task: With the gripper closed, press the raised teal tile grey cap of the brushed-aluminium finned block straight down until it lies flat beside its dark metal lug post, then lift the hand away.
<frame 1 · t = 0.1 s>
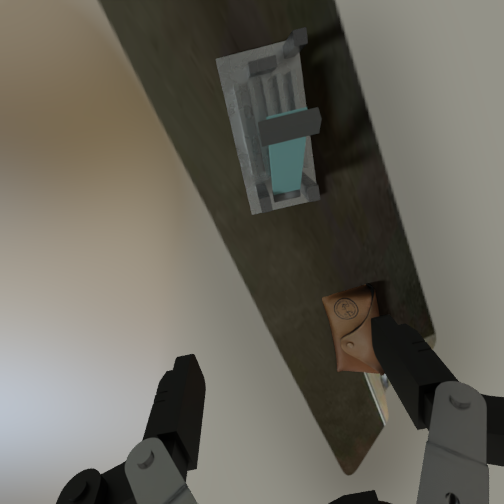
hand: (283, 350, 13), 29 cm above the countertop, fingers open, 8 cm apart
sunglasses case: (351, 329, 51), on the countertop
teal tile grey cap: (287, 166, 28), point 11 cm above the countertop, hinge at 50.0°
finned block: (270, 135, 37), on the countertop
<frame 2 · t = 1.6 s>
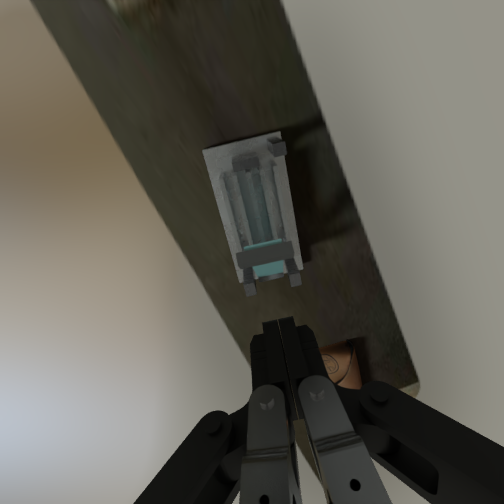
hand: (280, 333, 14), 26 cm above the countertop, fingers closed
sunglasses case: (334, 378, 53), on the countertop
teal tile grey cap: (268, 265, 29), point 11 cm above the countertop, hinge at 50.0°
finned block: (257, 211, 38), on the countertop
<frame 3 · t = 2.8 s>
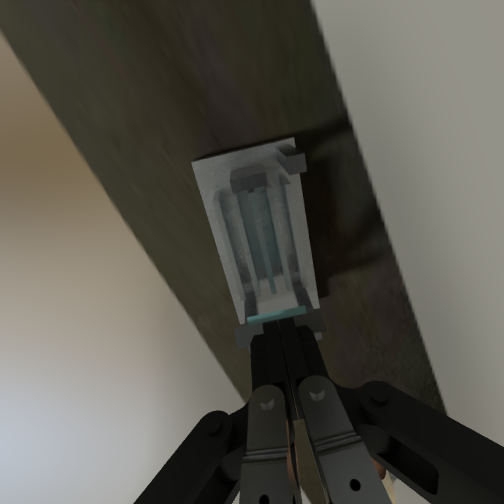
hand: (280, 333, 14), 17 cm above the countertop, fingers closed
teal tile grey cap: (279, 322, 21), point 11 cm above the countertop, hinge at 49.9°, touching gripper
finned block: (262, 238, 30), on the countertop
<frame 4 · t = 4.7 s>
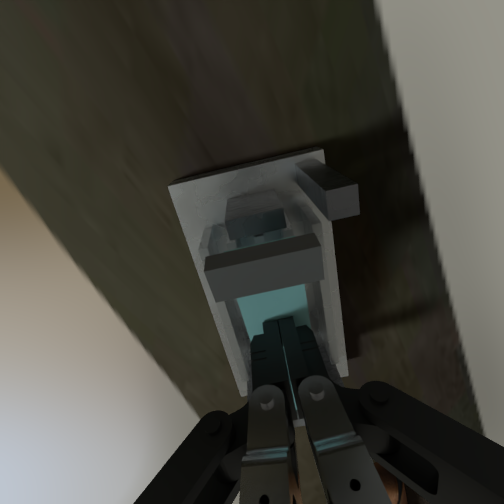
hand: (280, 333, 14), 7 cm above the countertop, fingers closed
sunglasses case: (364, 499, 37), on the countertop
teal tile grey cap: (285, 355, 15), point 7 cm above the countertop, hinge at 7.7°, touching gripper
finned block: (271, 286, 22), on the countertop
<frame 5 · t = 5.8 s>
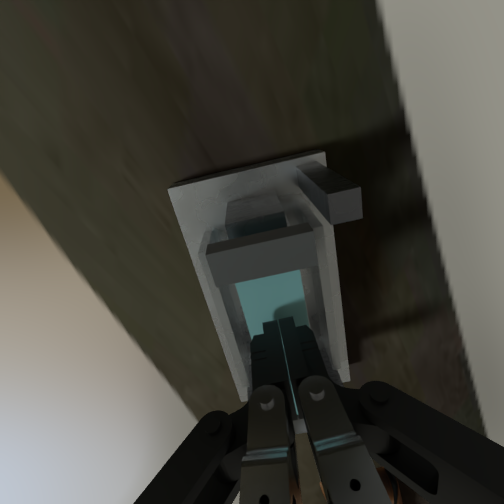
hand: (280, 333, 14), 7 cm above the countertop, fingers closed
teal tile grey cap: (284, 351, 16), point 6 cm above the countertop, hinge at 1.8°
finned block: (272, 290, 21), on the countertop
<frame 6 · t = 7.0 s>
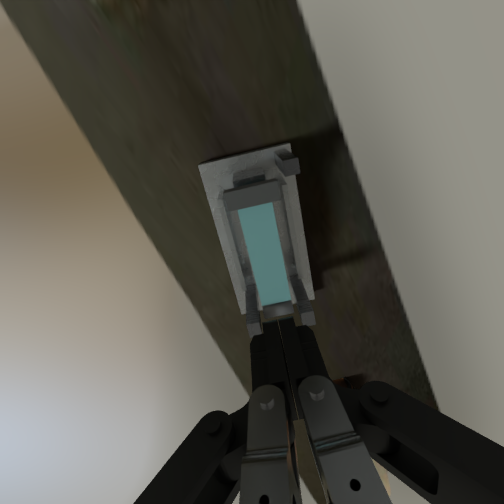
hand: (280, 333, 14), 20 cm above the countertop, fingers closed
teal tile grey cap: (266, 257, 27), point 6 cm above the countertop, hinge at 1.8°
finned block: (261, 234, 33), on the countertop
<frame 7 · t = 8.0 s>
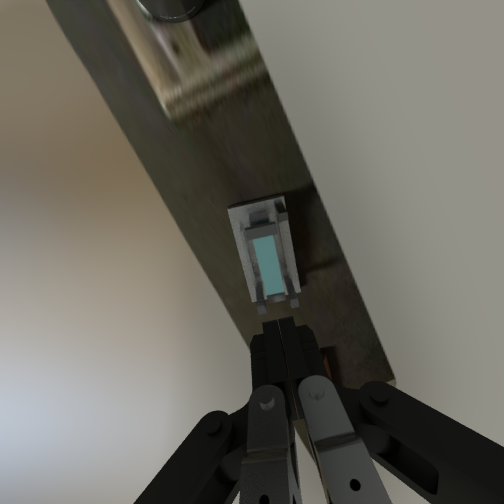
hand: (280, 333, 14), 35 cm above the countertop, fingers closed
teal tile grey cap: (269, 265, 45), point 6 cm above the countertop, hinge at 1.8°
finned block: (265, 249, 51), on the countertop
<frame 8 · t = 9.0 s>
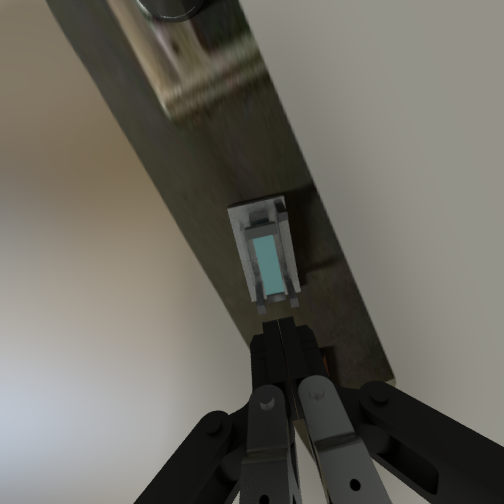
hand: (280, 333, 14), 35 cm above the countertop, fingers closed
teal tile grey cap: (269, 265, 45), point 6 cm above the countertop, hinge at 1.8°
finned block: (265, 249, 51), on the countertop
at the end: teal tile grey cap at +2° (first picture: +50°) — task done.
